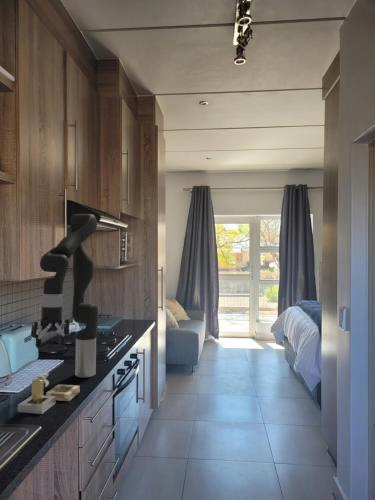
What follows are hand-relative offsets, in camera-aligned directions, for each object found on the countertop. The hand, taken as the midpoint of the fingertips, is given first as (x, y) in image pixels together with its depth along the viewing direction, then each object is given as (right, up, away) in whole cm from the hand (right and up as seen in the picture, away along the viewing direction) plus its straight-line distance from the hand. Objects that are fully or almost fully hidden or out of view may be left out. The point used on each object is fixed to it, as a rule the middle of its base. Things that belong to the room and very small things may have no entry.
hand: (49, 347), depth 141 cm
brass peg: (-2, -21, -7) cm, 22 cm away
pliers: (-12, -21, +20) cm, 31 cm away
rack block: (+4, -21, +4) cm, 21 cm away
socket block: (-2, -20, -7) cm, 22 cm away
